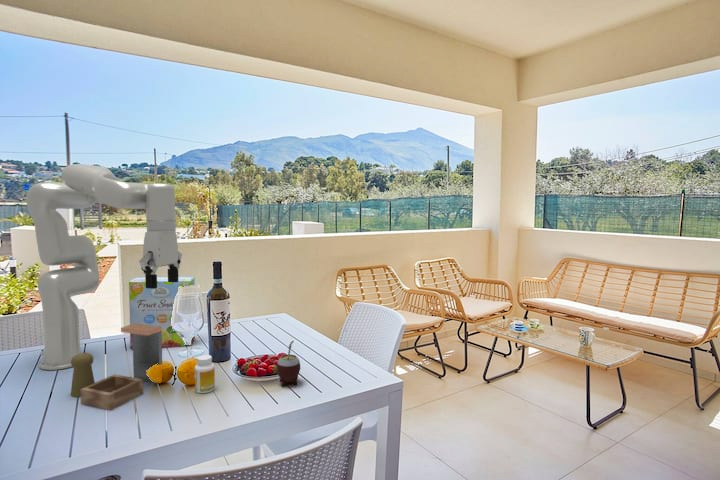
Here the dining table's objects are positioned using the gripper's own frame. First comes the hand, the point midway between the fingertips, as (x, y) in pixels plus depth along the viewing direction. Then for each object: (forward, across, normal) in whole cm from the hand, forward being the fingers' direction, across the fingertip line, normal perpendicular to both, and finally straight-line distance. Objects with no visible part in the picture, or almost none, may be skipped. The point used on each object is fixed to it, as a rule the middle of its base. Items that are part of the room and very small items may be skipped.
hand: (162, 285), depth 118 cm
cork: (+30, +9, -19) cm, 37 cm away
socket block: (+30, +11, -8) cm, 33 cm away
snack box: (+30, -31, -22) cm, 48 cm away
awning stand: (+30, +1, -7) cm, 31 cm away
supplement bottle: (+30, +1, +14) cm, 33 cm away
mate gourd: (+30, -8, +36) cm, 48 cm away
